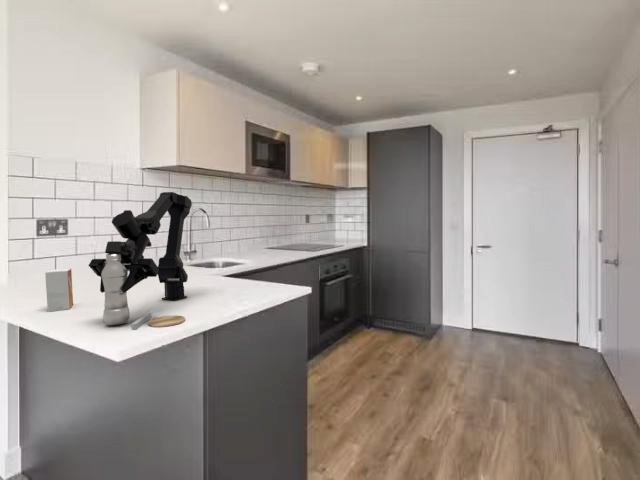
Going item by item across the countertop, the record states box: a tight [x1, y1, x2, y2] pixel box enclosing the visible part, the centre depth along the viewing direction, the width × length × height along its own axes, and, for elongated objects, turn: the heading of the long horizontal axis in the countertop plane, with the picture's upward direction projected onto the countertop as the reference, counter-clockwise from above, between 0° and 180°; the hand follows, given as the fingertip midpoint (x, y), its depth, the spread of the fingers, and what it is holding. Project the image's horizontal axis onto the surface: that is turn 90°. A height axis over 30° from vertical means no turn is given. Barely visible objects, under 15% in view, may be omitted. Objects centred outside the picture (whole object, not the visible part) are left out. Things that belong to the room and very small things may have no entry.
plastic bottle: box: [101, 253, 131, 326], centre depth 106 cm, size 6×7×20 cm
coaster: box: [146, 314, 186, 328], centre depth 108 cm, size 10×10×1 cm
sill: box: [131, 312, 153, 331], centre depth 107 cm, size 12×1×2 cm, turn 6°
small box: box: [44, 268, 74, 312], centre depth 128 cm, size 8×6×13 cm
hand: (112, 291), depth 104 cm, fingers closed on plastic bottle, 6 cm apart
